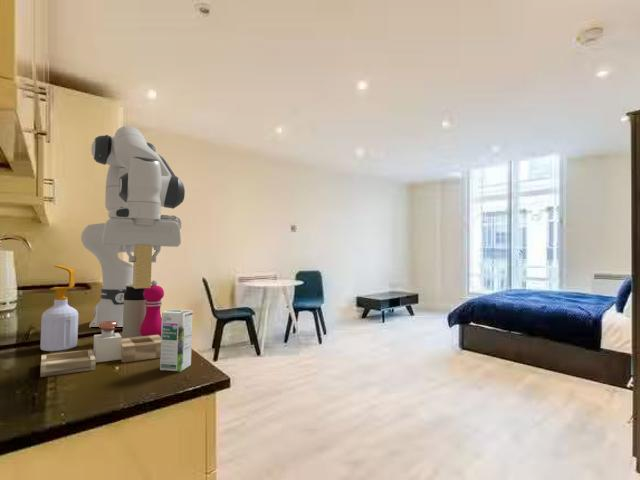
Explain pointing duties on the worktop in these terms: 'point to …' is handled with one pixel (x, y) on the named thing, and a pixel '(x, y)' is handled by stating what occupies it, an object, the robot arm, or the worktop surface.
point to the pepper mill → (152, 310)
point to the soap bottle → (60, 320)
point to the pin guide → (107, 348)
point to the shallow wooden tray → (67, 362)
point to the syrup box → (176, 340)
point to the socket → (140, 348)
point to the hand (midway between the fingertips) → (142, 262)
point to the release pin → (107, 328)
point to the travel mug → (133, 311)
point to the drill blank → (142, 266)
